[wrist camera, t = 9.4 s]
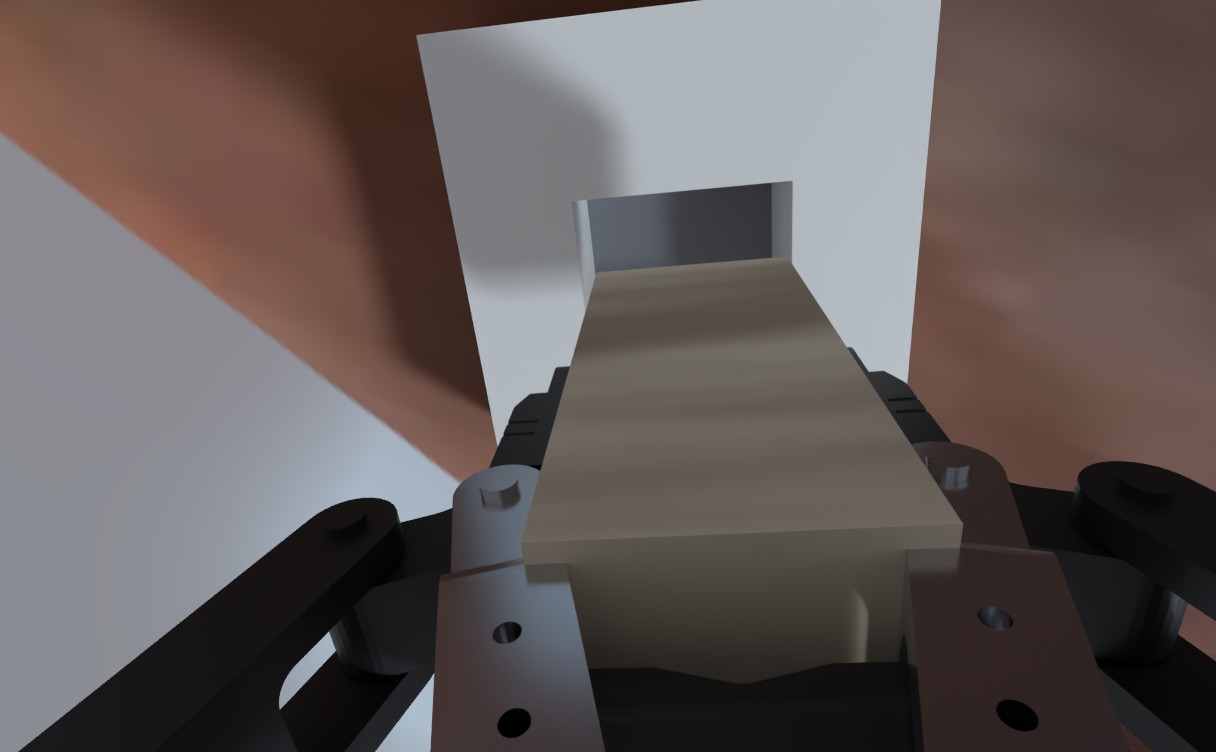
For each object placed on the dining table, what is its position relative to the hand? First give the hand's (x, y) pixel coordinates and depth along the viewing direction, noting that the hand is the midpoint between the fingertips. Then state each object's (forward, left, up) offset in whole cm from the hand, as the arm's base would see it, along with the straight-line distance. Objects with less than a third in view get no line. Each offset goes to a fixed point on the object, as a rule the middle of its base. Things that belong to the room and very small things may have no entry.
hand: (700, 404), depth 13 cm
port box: (0, 0, -11) cm, 11 cm away
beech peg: (0, 0, -3) cm, 3 cm away
